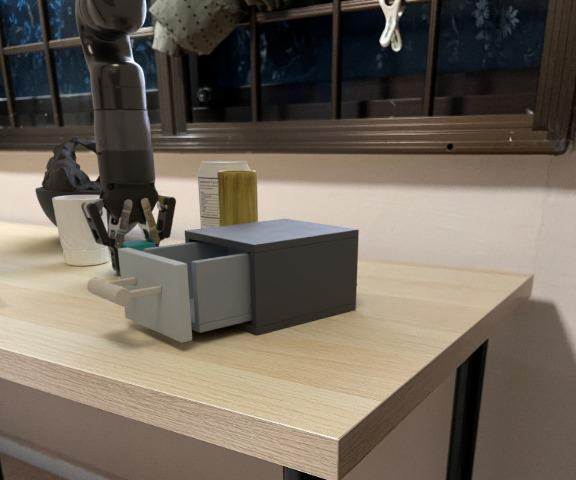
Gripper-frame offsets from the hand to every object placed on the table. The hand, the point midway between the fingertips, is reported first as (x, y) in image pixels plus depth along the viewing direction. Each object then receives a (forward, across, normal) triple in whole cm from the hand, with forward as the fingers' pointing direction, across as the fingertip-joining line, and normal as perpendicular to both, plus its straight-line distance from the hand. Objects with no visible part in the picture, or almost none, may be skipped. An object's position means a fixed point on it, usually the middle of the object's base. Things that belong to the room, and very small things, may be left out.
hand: (137, 271), depth 90 cm
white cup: (0, +2, -13) cm, 13 cm away
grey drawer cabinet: (0, -2, +29) cm, 29 cm away
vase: (0, -10, +12) cm, 16 cm away
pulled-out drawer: (-1, +9, +29) cm, 30 cm away
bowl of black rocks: (0, -8, -30) cm, 31 cm away
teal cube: (0, 0, 0) cm, 0 cm away
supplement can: (0, -15, +2) cm, 15 cm away
